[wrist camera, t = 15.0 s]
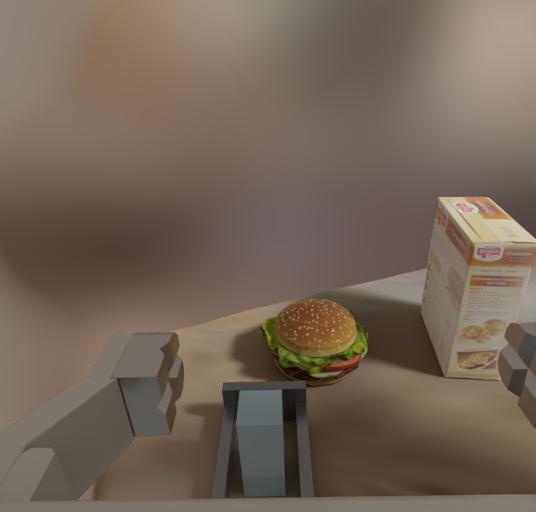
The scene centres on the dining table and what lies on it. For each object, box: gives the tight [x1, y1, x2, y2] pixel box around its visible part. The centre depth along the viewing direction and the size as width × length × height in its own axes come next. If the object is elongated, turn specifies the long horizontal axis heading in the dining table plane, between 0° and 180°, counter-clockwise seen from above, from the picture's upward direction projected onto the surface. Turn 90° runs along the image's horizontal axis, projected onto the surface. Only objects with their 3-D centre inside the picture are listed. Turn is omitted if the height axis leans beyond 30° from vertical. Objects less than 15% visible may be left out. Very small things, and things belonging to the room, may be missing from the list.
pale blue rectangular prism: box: [236, 390, 286, 497], centre depth 39 cm, size 4×4×10 cm
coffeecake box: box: [420, 197, 536, 380], centre depth 53 cm, size 15×7×20 cm, turn 173°
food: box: [261, 299, 369, 386], centre depth 55 cm, size 14×14×8 cm
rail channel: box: [211, 381, 314, 499], centre depth 41 cm, size 9×13×5 cm
